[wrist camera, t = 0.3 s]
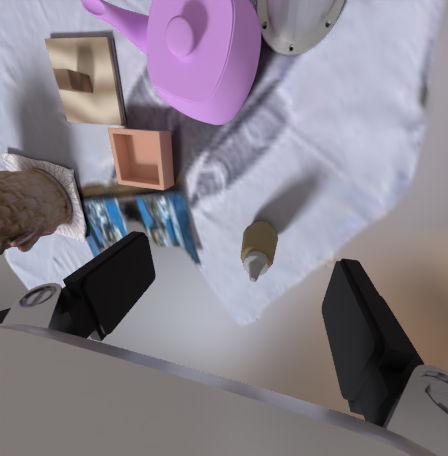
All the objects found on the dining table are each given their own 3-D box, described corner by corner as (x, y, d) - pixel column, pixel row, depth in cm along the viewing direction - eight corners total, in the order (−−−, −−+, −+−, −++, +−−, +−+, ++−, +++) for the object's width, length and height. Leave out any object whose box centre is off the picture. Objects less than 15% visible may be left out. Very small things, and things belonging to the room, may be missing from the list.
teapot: (288, -8, 30) (297, -116, 17) (237, 135, 40) (218, 137, 27) (155, -60, 31) (65, -199, 18) (139, 93, 41) (75, 76, 28)
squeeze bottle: (243, 216, 48) (227, 258, 32) (277, 215, 46) (277, 260, 30) (246, 244, 51) (232, 295, 36) (278, 245, 49) (278, 298, 34)
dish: (123, 128, 45) (107, 127, 41) (170, 131, 43) (158, 131, 39) (132, 179, 51) (118, 183, 47) (174, 184, 49) (164, 190, 44)
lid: (48, 40, 41) (15, 27, 36) (109, 38, 38) (84, 24, 33) (70, 122, 48) (46, 121, 43) (124, 125, 45) (104, 125, 40)
